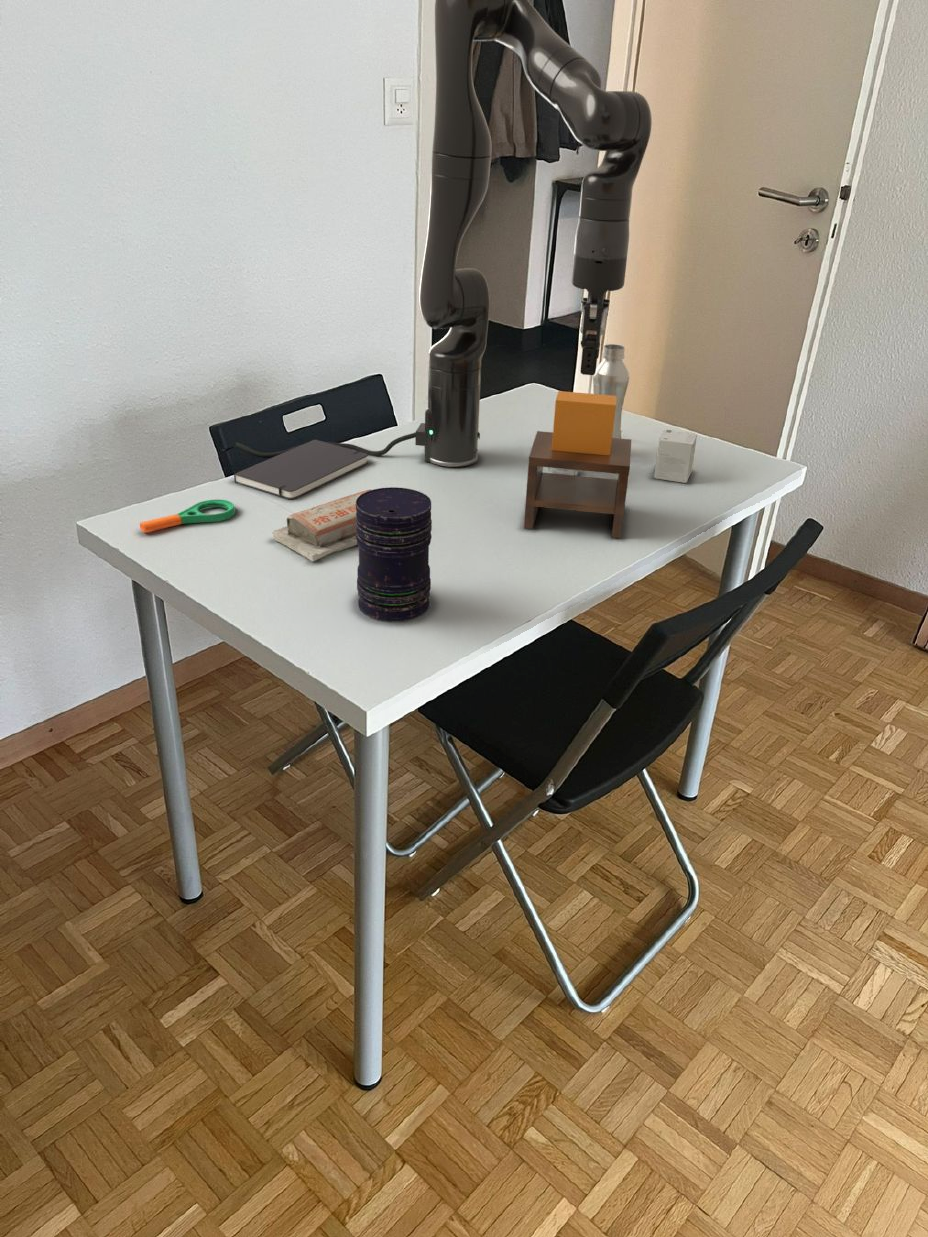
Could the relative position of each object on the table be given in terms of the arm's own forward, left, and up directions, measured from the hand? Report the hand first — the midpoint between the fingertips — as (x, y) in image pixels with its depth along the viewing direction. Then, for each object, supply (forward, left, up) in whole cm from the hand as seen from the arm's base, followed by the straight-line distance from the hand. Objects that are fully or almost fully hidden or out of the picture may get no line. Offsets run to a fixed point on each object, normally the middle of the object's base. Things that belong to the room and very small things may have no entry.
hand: (589, 366), depth 146 cm
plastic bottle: (+3, +31, -25) cm, 40 cm away
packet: (0, 0, -13) cm, 13 cm away
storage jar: (-22, -34, -25) cm, 48 cm away
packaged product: (-35, -15, -25) cm, 46 cm away
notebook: (-48, +8, -25) cm, 55 cm away
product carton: (+16, +23, -25) cm, 38 cm away
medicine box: (-3, +16, -25) cm, 30 cm away
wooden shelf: (0, 0, -25) cm, 25 cm away
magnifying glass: (-59, -16, -25) cm, 66 cm away
